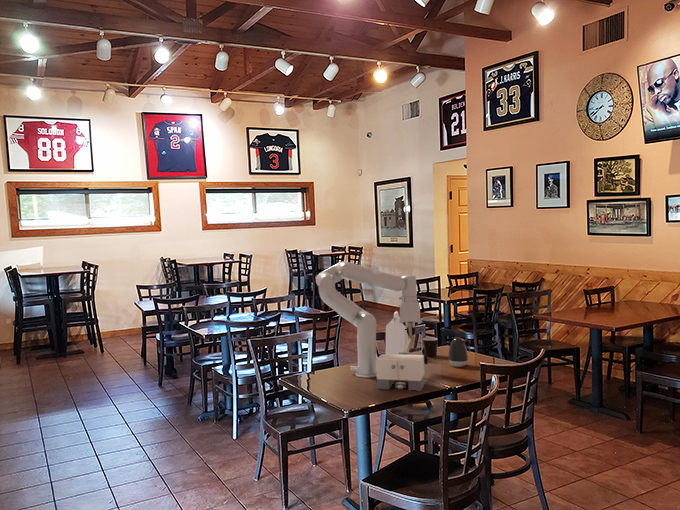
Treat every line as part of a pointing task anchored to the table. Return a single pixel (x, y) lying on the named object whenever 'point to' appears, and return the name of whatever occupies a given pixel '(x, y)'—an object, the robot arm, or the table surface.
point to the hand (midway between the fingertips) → (411, 334)
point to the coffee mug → (430, 347)
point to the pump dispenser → (458, 353)
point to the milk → (396, 336)
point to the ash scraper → (411, 338)
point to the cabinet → (400, 370)
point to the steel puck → (400, 385)
